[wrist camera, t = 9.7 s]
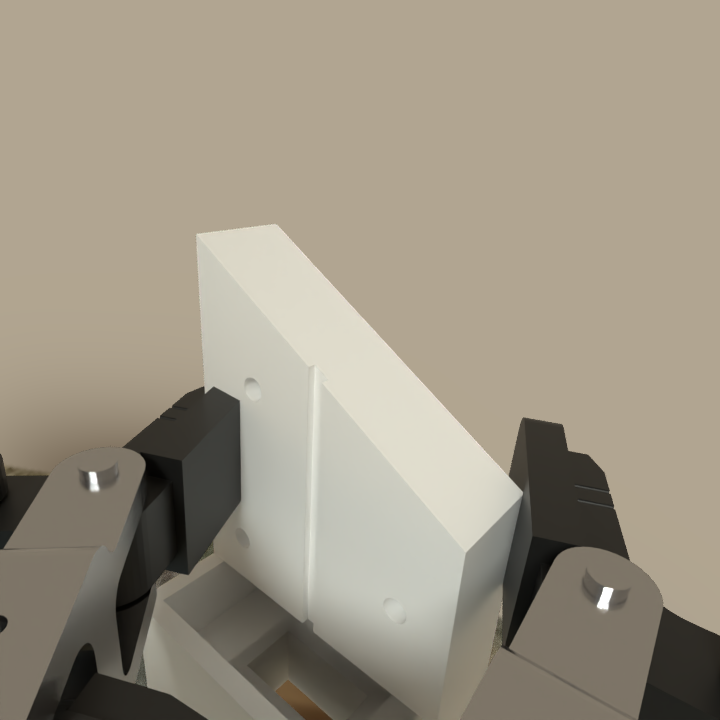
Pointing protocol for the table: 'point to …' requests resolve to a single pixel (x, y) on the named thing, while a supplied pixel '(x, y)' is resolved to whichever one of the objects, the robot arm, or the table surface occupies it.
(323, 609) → the white angled block
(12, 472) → the table surface
